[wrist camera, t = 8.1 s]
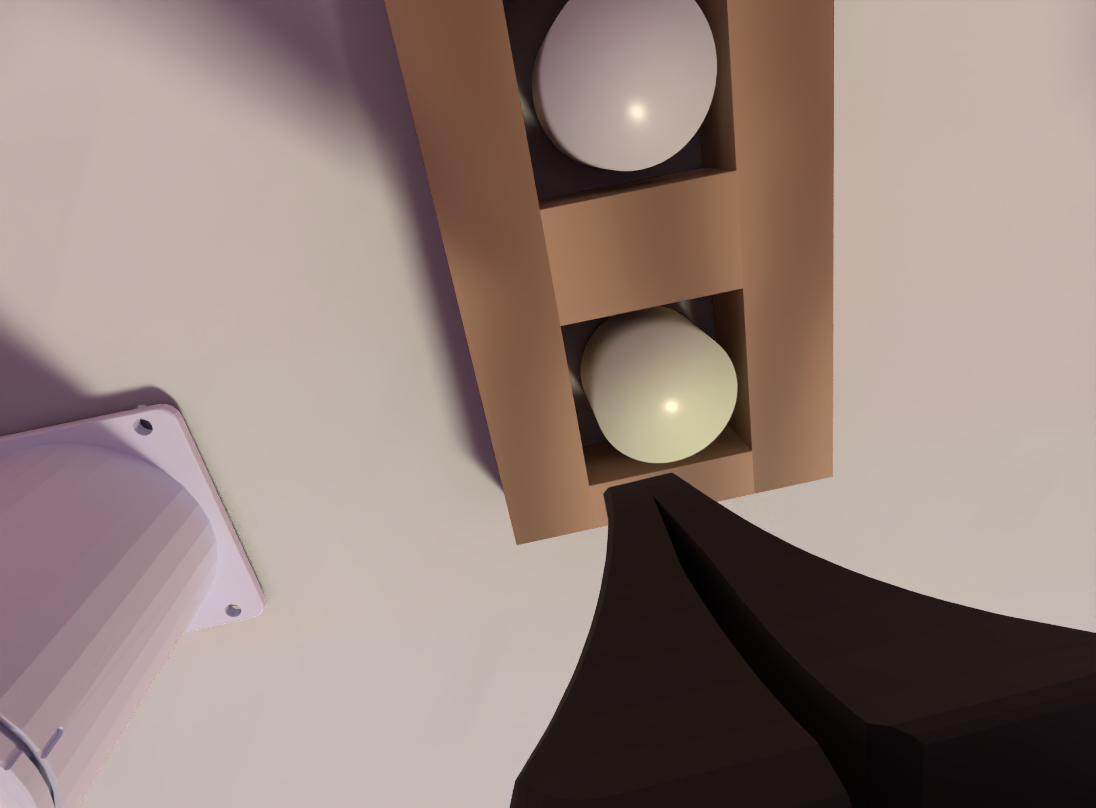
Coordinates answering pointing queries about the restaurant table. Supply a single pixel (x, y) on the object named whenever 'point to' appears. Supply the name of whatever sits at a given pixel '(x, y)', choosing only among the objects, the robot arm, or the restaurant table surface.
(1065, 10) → the restaurant table surface
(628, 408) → the sage button
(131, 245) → the restaurant table surface
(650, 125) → the grey button
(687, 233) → the panel
